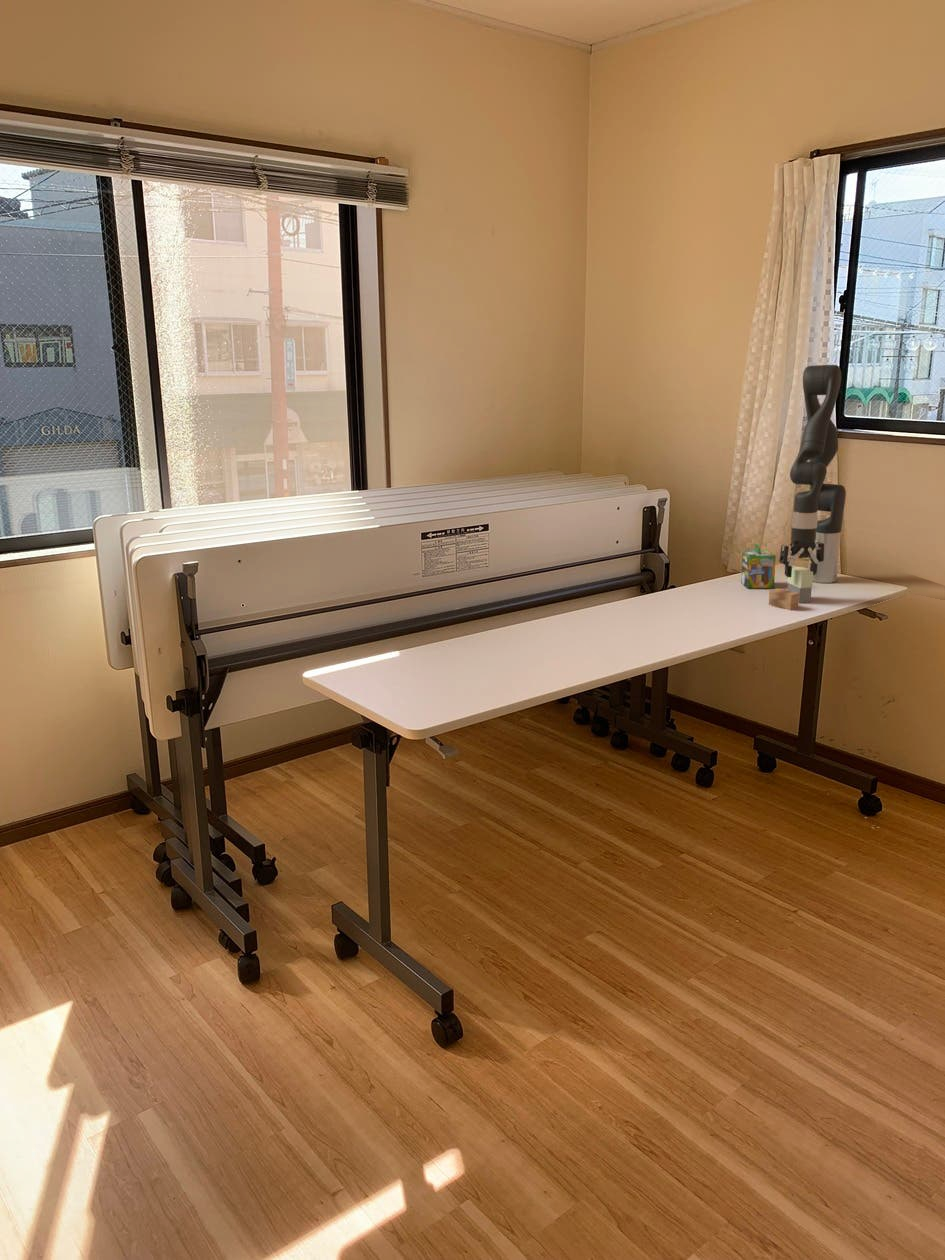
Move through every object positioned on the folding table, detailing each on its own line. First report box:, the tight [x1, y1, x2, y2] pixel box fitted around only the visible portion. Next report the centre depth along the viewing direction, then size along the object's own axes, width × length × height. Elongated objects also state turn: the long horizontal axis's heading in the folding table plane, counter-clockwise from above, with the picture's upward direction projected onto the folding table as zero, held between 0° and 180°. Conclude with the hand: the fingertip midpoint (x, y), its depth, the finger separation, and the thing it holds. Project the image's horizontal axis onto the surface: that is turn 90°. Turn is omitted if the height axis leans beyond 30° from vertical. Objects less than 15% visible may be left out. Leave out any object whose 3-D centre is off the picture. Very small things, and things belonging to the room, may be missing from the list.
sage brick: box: [787, 566, 813, 588], centre depth 313 cm, size 8×4×5 cm, turn 13°
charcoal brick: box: [786, 583, 813, 604], centre depth 315 cm, size 8×4×5 cm, turn 9°
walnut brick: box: [768, 588, 800, 611], centre depth 307 cm, size 8×4×5 cm, turn 38°
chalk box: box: [740, 541, 777, 590], centre depth 332 cm, size 9×9×15 cm
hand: (800, 575), depth 313 cm, fingers open, 8 cm apart
